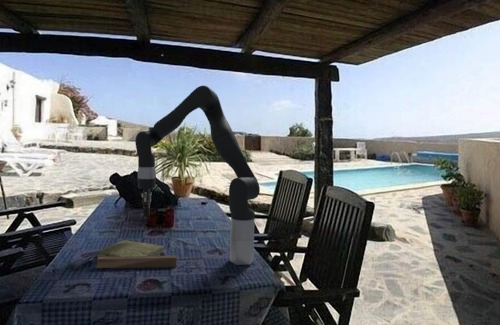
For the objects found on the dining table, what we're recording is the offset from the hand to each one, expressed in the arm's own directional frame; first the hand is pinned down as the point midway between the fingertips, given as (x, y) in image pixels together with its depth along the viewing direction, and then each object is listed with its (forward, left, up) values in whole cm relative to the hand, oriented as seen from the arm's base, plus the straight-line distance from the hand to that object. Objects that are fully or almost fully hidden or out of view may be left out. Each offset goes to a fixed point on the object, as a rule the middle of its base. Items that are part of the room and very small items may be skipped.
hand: (146, 216), depth 164 cm
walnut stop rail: (-28, 0, -12) cm, 31 cm away
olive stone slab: (-15, +4, -13) cm, 20 cm away
